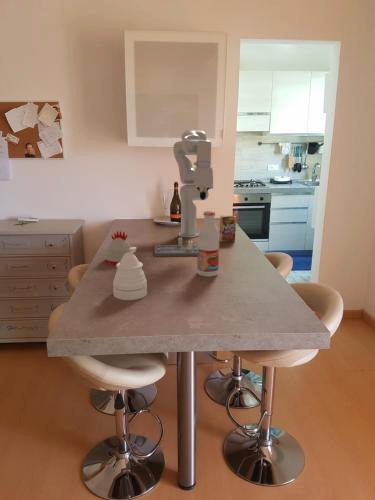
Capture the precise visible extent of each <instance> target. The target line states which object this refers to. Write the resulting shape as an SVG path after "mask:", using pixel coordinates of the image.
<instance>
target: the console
mask: <svg viewBox="0 0 375 500" xmlns="http://www.w3.org/2000/svg"><path fill="white" fill-rule="evenodd" d="M194 256H195V257H198V244H195V243H194V244H193V245H192V250H188V244H182V247H179V246H178V244H159V243H158V244H155V245H154V257H194Z"/></svg>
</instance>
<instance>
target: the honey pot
mask: <svg viewBox="0 0 375 500" xmlns="http://www.w3.org/2000/svg"><path fill="white" fill-rule="evenodd" d="M130 251H131V252H127V253H126V254H125V255H124V256H123V258H122V259H121V261H120V262H119V263H118V264H117V265H115V267H116V268H117V270H116V271H115V276H114V279H113V281H112V285H113V289H112V290H113V296H114V298H116V299H118V300H124V301H135V300H139V299H142V298H144V297H146V296H147V294H148V284H147V283H148V281H147V278H146V276H145V272H144V270H143V263H142V262H141V261H139V260H138V258H137V256H136V255H135V253H136V251H137V247H136V246H131V247H130Z"/></svg>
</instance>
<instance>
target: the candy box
mask: <svg viewBox="0 0 375 500" xmlns="http://www.w3.org/2000/svg"><path fill="white" fill-rule="evenodd" d="M219 219H220V220H219V237H218V241H219V243H223V242H224V243H228V242H230V243H231V242H233V243H234V242H235V243H236V231H237V230H236V228H237V216H236V215H220V218H219Z"/></svg>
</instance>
